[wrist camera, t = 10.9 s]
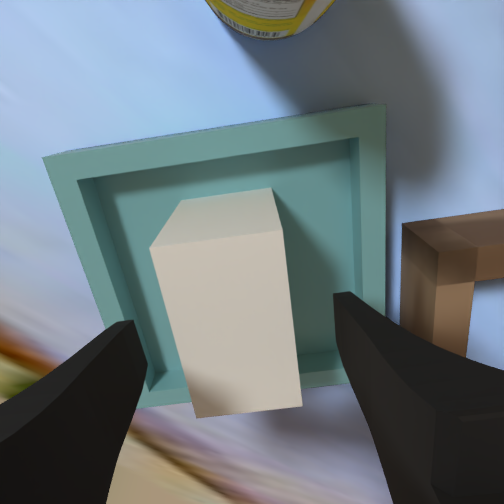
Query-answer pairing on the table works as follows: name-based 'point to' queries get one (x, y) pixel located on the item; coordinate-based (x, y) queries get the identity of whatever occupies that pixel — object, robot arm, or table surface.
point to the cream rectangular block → (230, 302)
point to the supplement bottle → (269, 16)
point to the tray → (224, 182)
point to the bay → (447, 274)
